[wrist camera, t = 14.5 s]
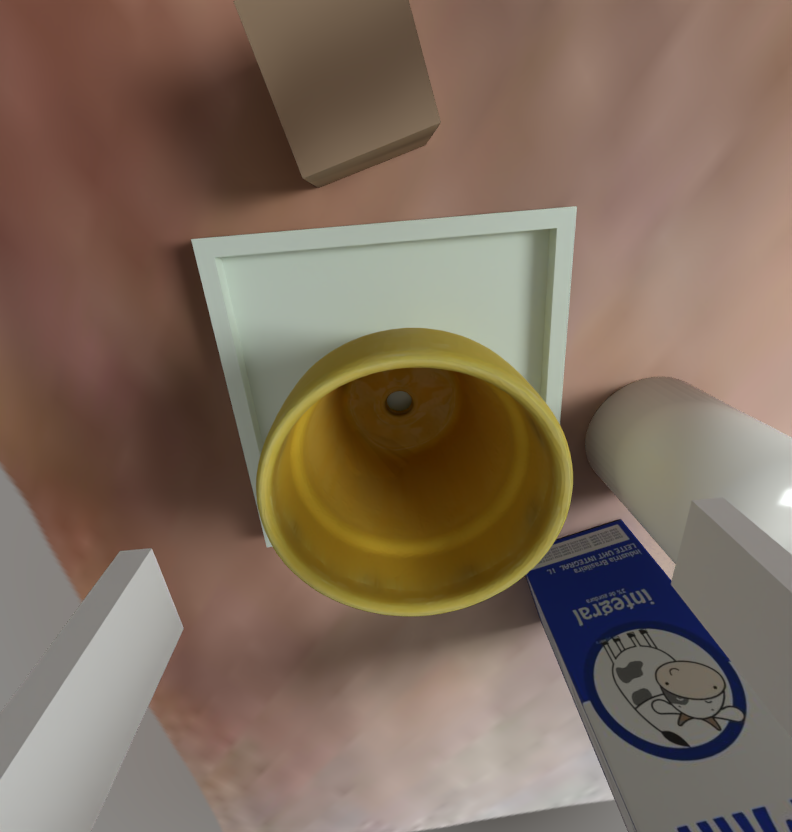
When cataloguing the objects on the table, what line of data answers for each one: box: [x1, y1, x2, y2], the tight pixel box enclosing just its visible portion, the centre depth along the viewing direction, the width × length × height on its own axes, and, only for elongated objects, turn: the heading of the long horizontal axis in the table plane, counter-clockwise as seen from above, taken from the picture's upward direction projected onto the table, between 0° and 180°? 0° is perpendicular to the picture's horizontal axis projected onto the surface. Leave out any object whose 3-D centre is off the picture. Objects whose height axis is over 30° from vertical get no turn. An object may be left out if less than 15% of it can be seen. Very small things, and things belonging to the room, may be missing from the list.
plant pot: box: [256, 328, 573, 616], centre depth 19 cm, size 10×10×10 cm
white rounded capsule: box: [585, 377, 792, 564], centre depth 22 cm, size 7×7×9 cm
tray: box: [191, 206, 577, 547], centre depth 23 cm, size 17×17×2 cm
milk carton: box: [525, 519, 792, 832], centre depth 20 cm, size 7×7×20 cm
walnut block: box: [234, 0, 441, 188], centre depth 16 cm, size 5×5×5 cm
